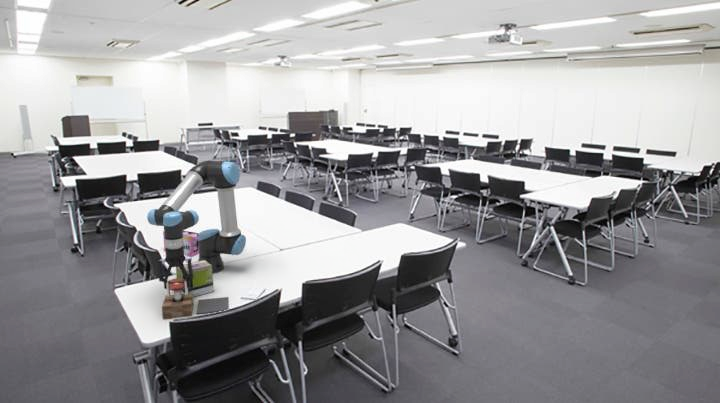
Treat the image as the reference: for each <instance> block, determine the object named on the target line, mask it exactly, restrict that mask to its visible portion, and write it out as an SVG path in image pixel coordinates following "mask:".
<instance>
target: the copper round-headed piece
mask: <svg viewBox="0 0 720 403" xmlns="http://www.w3.org/2000/svg"><path fill="white" fill-rule="evenodd" d="M184 288H185V279H183V278H177V277H176V278H173V279H170V280H169V289H170V291H173V295H174V298H175V302H182V296H181V289H184Z"/></svg>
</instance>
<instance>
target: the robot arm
mask: <svg viewBox="0 0 720 403" xmlns="http://www.w3.org/2000/svg"><path fill="white" fill-rule="evenodd" d="M240 177H241V174H240V169H239V167H238V165H237V164H236V163H235V162H232V161H228V160H227V161H226V160H225V161H224V160H223V161H222V160H203V161H201V162H199V163H197V164H196V165H193V167H191V168H190V169H189V170H188V171H187V172H186V174H185V178H184V179H182V181H181V182H180V183H179V184H178V186H177V187H176V188H175V189H174V191H173V192H172V193H171V194H170V195H169V196H168V197H167V198H166V200H164V202H163V203H162V204H161V206H160V207H159V208H153V209H150V210H149V211H148V213H147V217H146V218H147V219H146V220H147V222H148V223H149V224H150V225H151V226H156V227H163V231H164V234H165V247H166V249H164V252H165V258H163V259H162V258H160V259H159V260H158V265H159V273H158V274H159V276H158V281H159V282H162V283H163V286H164V287H163V289H165V290H166V293H167V294H166V295H167V296H169V295H171V290H170V289H169V281H170V280H169V276H170V273H171V270H172V268H176V267H179V268H180V269H181V271H182V273H183V275H184V277H185V295H187V294H188V287H189V286H190V280H192V279H193V277H194V275H193V270H192V265H191V263H192V257H189V258H188V257H186V256H184V247H183V245H184V244H183V231H186V230H187V229H189V228H193V227H194V226H196V225H197V224H198V223H199V220H200V218H199V217H200V216H199V214H198V212H197V211H195V210H193V209H190V210H185V211H180V209H181V208H182V207H183V205H185V203H186V202H188V199H190V197H191V196H192V195H193V193H194V192H195V191H196V190H197V189H198V187H201V186H202V185H204V184H206V183H213V188H214V189H215V190H216V192H217V199H218V207H219V217H220V227H221V230H219V229H218V228H210V229H205V230H202V231H200V232H198V233H199V235H198V245H199V254H198V260H197V261H202V260H205V261H206V262H208V263H209V264H211V265H212V273H213V274H215V273H219V272H221V271H223V270H224V269H225V263H224V261H223V258H222V256H221V254H222V255H231V256H239V255H241V254H242V253H243V251H244V250H245V248H246V243H247V238H246V236H245V235H244V234H242V231H241V229H240V228H239V227H238V219H237V218H238V217H237V216H238V215H237V208H236V199H235V198H236V197H235V188H236V187H237V184H238V183H239V181H240ZM184 262H186V263H185V264H188V270H189V275H190V277H189V275H188V273H187V271H186V269H185V267H184ZM165 263H167V265H168V267H167V270H166V272H164V268H165ZM164 273H165V276H164Z"/></svg>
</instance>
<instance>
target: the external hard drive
mask: <svg viewBox="0 0 720 403" xmlns="http://www.w3.org/2000/svg"><path fill="white" fill-rule="evenodd" d="M264 292H266V288H265V287H259V286H258V287H255V286H250V287H249V288H248V289H247V290H246V291H245V292H244V294H242V295H241V296H240V300H248V301H257V300H258V299H259V298H260V297H261V296H262V295H263V293H264ZM256 299H257V300H256Z"/></svg>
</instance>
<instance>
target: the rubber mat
mask: <svg viewBox="0 0 720 403" xmlns="http://www.w3.org/2000/svg"><path fill="white" fill-rule="evenodd" d="M197 301H198V302H197V308H196V313H195V314H196V316H197V315H208V313H209V314H215V313H214V312H219V311H224V310H227V309H229V308H230V307H229V305H230V304H229V296H225V297H216V298H215V297H213V298H203V299H198V300H197ZM219 313H220V312H219Z"/></svg>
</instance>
